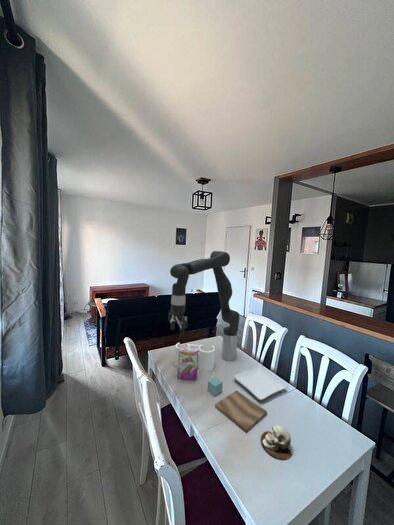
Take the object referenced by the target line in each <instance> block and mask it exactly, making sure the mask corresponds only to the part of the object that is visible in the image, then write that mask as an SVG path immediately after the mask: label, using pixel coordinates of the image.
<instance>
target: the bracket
mask: <svg viewBox="0 0 394 525" xmlns="http://www.w3.org/2000/svg"><path fill="white" fill-rule="evenodd" d="M180 344H181V343H180V342H177V343H176V344H175V348H174V349H175V350H174V352H175V353H174V354H175V355H174V365H175V367H177V368H178V359H179V350H180V348H181V346H180ZM203 346H204V345H203V344H193V343H192V344H191V343H188V342H187V343H186V348H189V349H198V350H199V356H198V370H201V371H205V372H210V371H212V370H214V368H215V358H216V357H215V353H216V347H215V346H214V345H211V348H210V350H207V351H206V350H203V349H204V348H203Z"/></svg>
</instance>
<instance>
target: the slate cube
mask: <svg viewBox="0 0 394 525" xmlns="http://www.w3.org/2000/svg"><path fill="white" fill-rule="evenodd" d="M223 387H224V384H223V381H222V380H221V379H219V378H218V377H215V376H214V377H213V378H211V379H209V380H207V392H208V393H210V394H211V395H213V397H216V396H218V395H220V394H221V393H222V392H223Z"/></svg>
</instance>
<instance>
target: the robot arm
mask: <svg viewBox="0 0 394 525" xmlns="http://www.w3.org/2000/svg"><path fill="white" fill-rule="evenodd" d="M230 261H231V256H230V254H229V253H228V252H226V251H222V250H213V251H212V252H211V253H210V257H209V258H200V259H196V260H191V261H189V262H183V263H177V264H174V265H172V267H171V268H170V271H169V274H170V275H171V277H173V278H175V279H177V281H176V282H175V283H172V287H171V293H172V294H171V298H170V300H171V301H170V310H168V315H167V316H168V319H167V320H168V322H169V323H170V330H171V331H174V330H175V326H176V323H177V324H178V326H179V335H180V336H184V335H185V329H187V328H188V326H189V325H188V324H189V322H188V316H187V315H186V316H184V313H185V312H186V287H187V285H188V280H189V278H190V275H192V276H193V275H196V274H198V273H201V272H204V271H207V270H210V269H212V270H213V275H214V279H215V283H216V287H217V294H218V297H219V304H220V313H221V319H222V321H223V322H224V323H226V324H229V326H227V327H224V328H223V330H222V331H223V333H222V334H223V335H222V346H221V347H222V349H221V358H222V359H223V360H224V361H227V362H233V361H235V360H236V358H237V351H238V350H237V349H238V344H237V342H238V341H237V340H238V331H239V327H240V319H241V316H240V313H239V312H238V311H236V310H232V309H231V308H230V300H231V298H232V296H233V288H232V283H231V281H230V279H229V277H228V276H227V275H226V273H225V272H224V269H223V267H227V266H228V265H229V264H230ZM175 322H176V323H175Z"/></svg>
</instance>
